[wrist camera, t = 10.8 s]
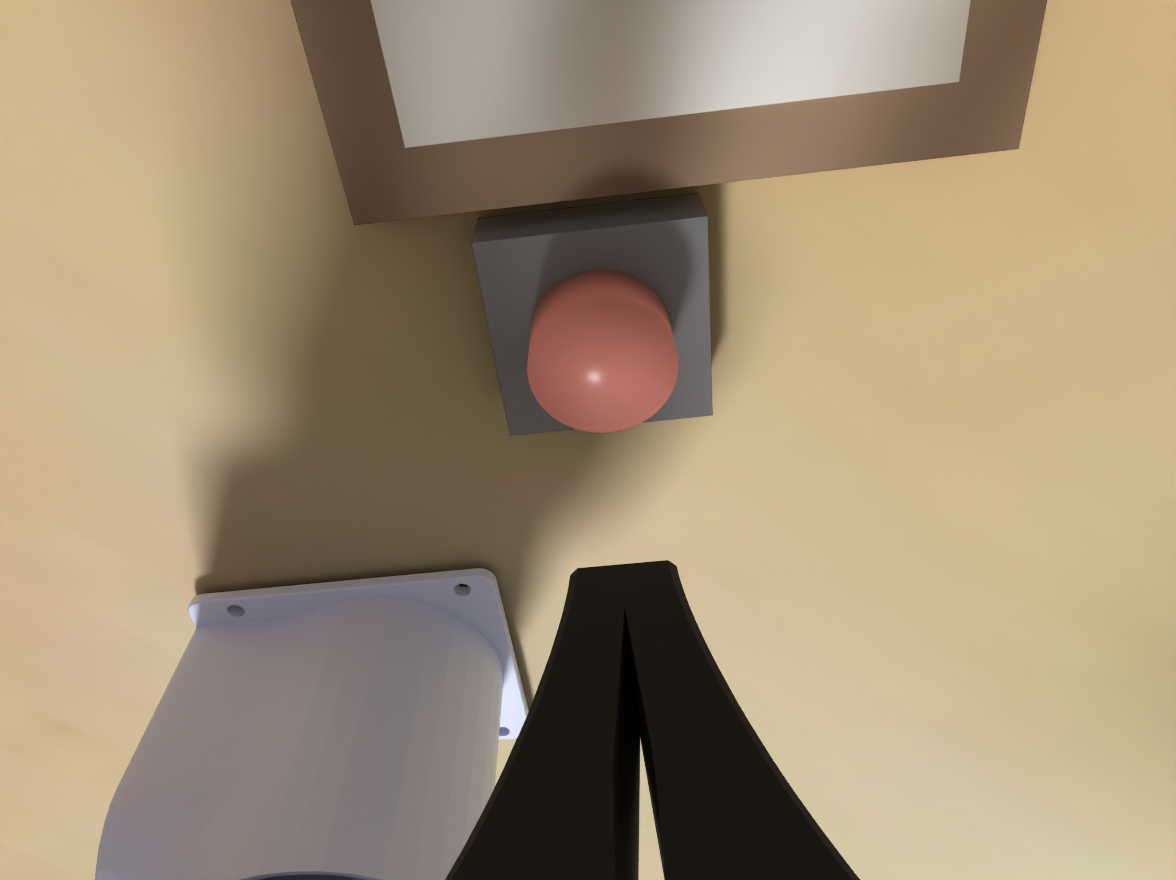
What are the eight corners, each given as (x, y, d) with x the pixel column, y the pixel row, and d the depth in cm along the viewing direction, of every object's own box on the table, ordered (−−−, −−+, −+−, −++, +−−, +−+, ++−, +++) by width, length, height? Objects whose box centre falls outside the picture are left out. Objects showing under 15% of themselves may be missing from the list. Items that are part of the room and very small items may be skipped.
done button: (541, 401, 19) (538, 439, 18) (520, 277, 18) (516, 310, 16) (673, 387, 19) (681, 425, 18) (666, 261, 17) (674, 293, 16)
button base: (513, 403, 21) (510, 435, 20) (478, 218, 18) (471, 242, 17) (704, 383, 21) (712, 415, 20) (698, 193, 18) (707, 215, 17)
